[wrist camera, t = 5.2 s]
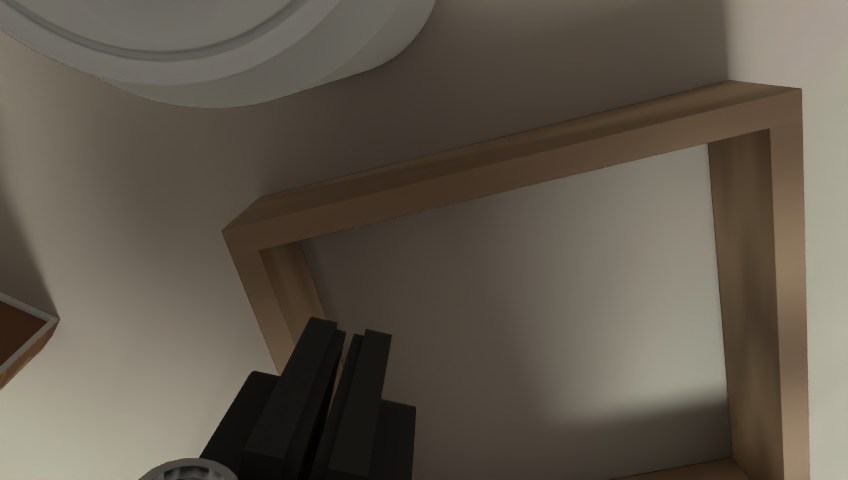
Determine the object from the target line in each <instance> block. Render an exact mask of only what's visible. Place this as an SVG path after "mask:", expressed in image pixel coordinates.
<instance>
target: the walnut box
mask: <svg viewBox="0 0 848 480" xmlns="http://www.w3.org/2000/svg"><path fill="white" fill-rule="evenodd" d="M705 143H708V148H709V161H710V174H711V186H712V199H713V211H714V224H715V236H716V249H717V262H718V274H719V287H720V299H721V312H722V325H723V337H724V350H725V362H726V375H727V387H728V400H729V413H730V425H731V438H732V450H733V458H729V459H724V460H718V461H713V462H707V463H702V464H696V465H691V466H685V467H680V468H674V469H669V470H663V471H657V472H652V473H646V474H641V475H635V476H630V477H624V478H619V479H613V480H810V455H809V408H808V361H807V314H806V267H805V220H804V173H803V126H802V89H801V88H792V87H783V86H775V85H766V84H757V83H749V82H740V81H731V80H729V81H725V82H721V83H717V84H713V85H709V86H705V87H701V88H697V89H693V90H689V91H685V92H681V93H677V94H673V95H669V96H665V97H661V98H657V99H653V100H649V101H645V102H641V103H637V104H633V105H629V106H625V107H621V108H617V109H613V110H609V111H605V112H601V113H597V114H593V115H589V116H585V117H581V118H577V119H573V120H569V121H565V122H561V123H557V124H553V125H549V126H545V127H541V128H537V129H533V130H529V131H525V132H521V133H517V134H513V135H509V136H505V137H501V138H497V139H493V140H489V141H485V142H481V143H477V144H473V145H469V146H465V147H461V148H457V149H453V150H449V151H445V152H441V153H437V154H433V155H429V156H425V157H421V158H417V159H413V160H409V161H405V162H401V163H397V164H393V165H389V166H385V167H381V168H377V169H373V170H369V171H365V172H360V173H356V174H352V175H348V176H344V177H340V178H336V179H332V180H328V181H324V182H320V183H316V184H312V185H308V186H304V187H300V188H296V189H292V190H288V191H284V192H280V193H276V194H272V195H268V196H264V197H260V198H259V199H257V200H256V201H255V202H254V203H253V204H252V205H250V206H249V207H248V208H247V209H246V210H245V211H244V212H242V213H241V214H240V215H239V216H238V217H237V218H235V219H234V220H233V221H232V222H231V223H230V224H229V225H227V226H226V227H225V228H224V229H223V230H222V234H223V236H224V239H225V241H226V244H227V246H228V249H229V251H230V254H231V256H232V259H233V261H234V264H235V266H236V269H237V271H238V274H239V276H240V279H241V281H242V284H243V286H244V289H245V291H246V294H247V296H248V299H249V301H250V304H251V306H252V309H253V311H254V314H255V316H256V319H257V321H258V324H259V326H260V329H261V331H262V334H263V336H264V339H265V341H266V344H267V346H268V349H269V351H270V354H271V356H272V359H273V361H274V364H275V366H276V369H277V371H278V374H279V376H281V374H282V372H283V370H284V368H285V366H286V364H287V362H288V360H289V358H290V356H291V354H292V352H293V350H294V348H295V346H296V344H297V342H298V340H299V339H300V337H301V335H302V333H303V331H304V329H305V327H306V325H307V323H308V321H309V319H310V317H316V318H320V319H325V320H326V317H325V314H324V311H323V308H322V305H321V302H320V300H319V297H318V294H317V291H316V288H315V285H314V283H313V280H312V277H311V274H310V271H309V268H308V266H307V263H306V260H305V257H304V254H303V251H302V249H301V246H300V243H299V240H303V239H308V238H312V237H316V236H320V235H324V234H328V233H333V232H337V231H341V230H345V229H349V228H354V227H358V226H362V225H366V224H370V223H374V222H379V221H383V220H387V219H391V218H395V217H400V216H404V215H408V214H412V213H416V212H420V211H425V210H429V209H433V208H437V207H441V206H446V205H450V204H454V203H458V202H462V201H466V200H471V199H475V198H479V197H483V196H487V195H491V194H496V193H500V192H504V191H508V190H512V189H517V188H521V187H525V186H529V185H533V184H537V183H542V182H546V181H550V180H554V179H558V178H563V177H567V176H571V175H575V174H579V173H583V172H588V171H592V170H596V169H600V168H604V167H609V166H613V165H617V164H621V163H625V162H629V161H634V160H638V159H642V158H646V157H650V156H655V155H659V154H663V153H667V152H671V151H675V150H680V149H684V148H688V147H692V146H696V145H700V144H705ZM342 370H343V365H342V362H341V359H340V363H339V367H338V372H337V376H336V381H335V385H334V390H333V395H332V399H331V404H330V408H329V412H330V409H331V405H332V402H333V399H334V396H335V393H336V390H337V386H338V383H339V380H340V377H341V374H342ZM328 415H329V413H328ZM327 418H328V417H327Z"/></svg>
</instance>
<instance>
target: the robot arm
mask: <svg viewBox="0 0 848 480" xmlns="http://www.w3.org/2000/svg"><path fill="white" fill-rule="evenodd" d="M345 335H346V332H345V331H341V330H337V322H333V321H329V320H325V319H320V318H316V317H310V319H309V321H308V323H307V325H306V327H305V329H304V331H303V333H302V335H301V337H300V339H299V340H298V342H297V344H296V346H295V348H294V350H293V352H292V354H291V356H290V358H289V360H288V362H287V364H286V366H285V368H284V370H283V372H282V374H281V376H276V375H271V374H267V373H262V372H258V371H253V372H251V374H250V375H249V376H248V378H247V380H246V381H245V383H244V385H243V386H242V388H241V390H240V391H239V393H238V395H237V396H236V398H235V399H234V401H233V403H232V404H231V406H230V408H229V409H228V411H227V413H226V414H225V416H224V417H223V419H222V421H221V422H220V424H219V426H218V427H217V429H216V431H215V432H214V434H213V436H212V437H211V439H210V440H209V442H208V444H207V445H206V447H205V449H204V450H203V452H202V454H201V455H200V457H199V458H183V459H179V460H174V461H170V462H166V463H164V464H162V465H160V466H158V467H156V468H153V469H151V470H150V471H149V472H148V473H146V474H145V475H144V476H142V477H141V478H140V479H139V480H411V479H412V464H413V449H414V434H415V419H416V407H415V406H410V405H406V404H401V403H397V402H392V401H388V400H383V399H381V395H382V389H383V384H384V378H385V372H386V366H387V361H388V355H389V349H390V343H391V338H392V335H390V334H386V333H381V332H377V331H373V330H368V329H366V331H365V335H364V336H363V335H358V334H354V336H353V339H352V342H351V345H350V348H349V351H348V355H347V358H346V361H345V364H344V367H343V370H342V374H341V377H340V380H339V383H338V386H337V390H336V393H335V396H334V399H333V402H332V405H331V409H330V412H329V408H330V404H331V399H332V395H333V390H334V385H335V381H336V376H337V372H338V367H339V363H340V358H341V354H342V349H343V344H344V340H345ZM328 413H329V415H328ZM327 417H328V418H327Z"/></svg>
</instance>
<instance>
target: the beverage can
mask: <svg viewBox="0 0 848 480" xmlns="http://www.w3.org/2000/svg"><path fill="white" fill-rule="evenodd" d="M435 3H436V0H0V29H1V30H2V31H4V32H5V33H6V34H8V35H9V36H11V37H12V38H14V39H15V40H17V41H19V42H21V43H22V44H24V45H26V46H27V47H29V48H31V49H33V50H34V51H36V52H38V53H40V54H42V55H44V56H46V57H48V58H50V59H53V60H55V61H57V62H59V63H61V64H64V65H66V66H69V67H71V68H73V69H76V70H79V71H82V72H85V73H88V74H90V75H92V76H93V77H95V78H97V79H99V80H102V81H104V82H106V83H108V84H110V85H112V86H114V87H116V88H119V89H121V90H124V91H126V92H129V93H131V94H134V95H137V96H140V97H143V98H147V99H151V100H154V101H158V102H162V103H167V104H171V105H177V106H185V107H197V108H215V109H216V108H230V107H240V106H248V105H255V104H260V103H264V102H268V101H271V100H274V99H278V98H281V97H284V96H288V95H291V94H294V93H297V92H300V91H304V90H307V89H310V88H313V87H316V86H320V85H323V84H326V83H329V82H332V81H336V80H339V79H342V78H345V77H348V76H351V75H355V74H358V73H361V72H364V71H367V70H371V69H373V68H376V67H378V66H380V65H382V64H384V63H386V62H387V61H389V60H391V59H392V58H394V57H395V56H397V55H398V54H399V53H401V52H402V51H403V50H404V49H405V48H406V47H407V46H408V45H409V44H410V43H411V42H412V41H413V40H414V39H415V38H416V36H417V35H418V34H419V33H420V31H421V30H422V28H423V27H424V25H425V24H426V22H427V20H428V18H429V17H430V14H431V12H432V10H433V8H434V5H435Z"/></svg>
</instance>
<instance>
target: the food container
mask: <svg viewBox="0 0 848 480" xmlns="http://www.w3.org/2000/svg"><path fill="white" fill-rule="evenodd" d="M59 320H60V319H59V318H56V317H54V316H52V315H50V314H48V313H45V312H43V311H41V310H39V309H36V308H34V307H32V306H30V305H28V304H25V303H23V302H21V301H19V300H16V299H14V298H12V297H10V296H8V295H5V294H3V293H1V292H0V390H1V389H2V388H3V387H4V386H5V385H6V384H7V383H8V382H9V381H10V380H11V379H12V378H13V377H14V376H15V375H16V374H17V373H18V372H19V371H20V370H21V369H22V368H23V367H24V366H25V365H27V364H28V363H29V362H30V361H31V360H32V359H33V358H34V357H35V356H36V355H37V354H38V353H39V352H40V351H41V350H42V349H43V347H44V346H45V345H46V343H47V342H48V341H49V339H50V338H51V337H52V335H53V333H54V331H55V329H56V327H57V324H58V322H59Z"/></svg>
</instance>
